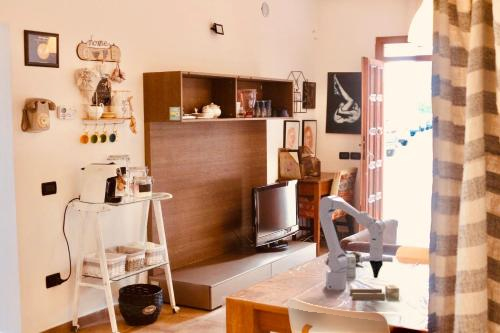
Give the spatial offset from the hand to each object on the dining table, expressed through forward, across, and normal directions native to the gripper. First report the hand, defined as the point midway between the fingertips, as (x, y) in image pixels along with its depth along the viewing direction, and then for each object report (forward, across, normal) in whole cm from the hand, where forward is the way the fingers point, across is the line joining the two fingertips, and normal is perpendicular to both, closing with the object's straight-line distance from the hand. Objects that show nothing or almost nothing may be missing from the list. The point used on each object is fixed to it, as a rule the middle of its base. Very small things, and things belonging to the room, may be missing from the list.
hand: (375, 277), depth 274 cm
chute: (+9, 0, -3) cm, 9 cm away
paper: (+9, -5, +64) cm, 65 cm away
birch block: (+8, +7, -3) cm, 11 cm away
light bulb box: (+9, -10, +35) cm, 37 cm away
